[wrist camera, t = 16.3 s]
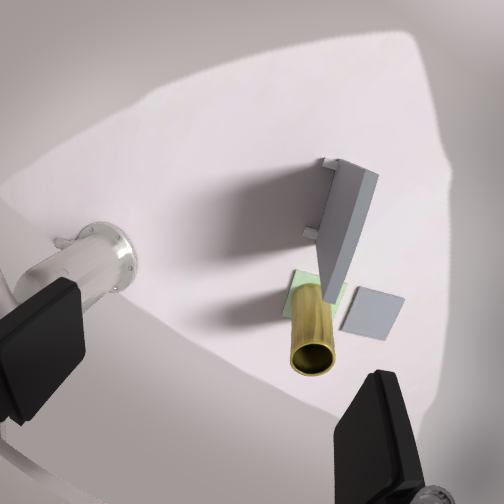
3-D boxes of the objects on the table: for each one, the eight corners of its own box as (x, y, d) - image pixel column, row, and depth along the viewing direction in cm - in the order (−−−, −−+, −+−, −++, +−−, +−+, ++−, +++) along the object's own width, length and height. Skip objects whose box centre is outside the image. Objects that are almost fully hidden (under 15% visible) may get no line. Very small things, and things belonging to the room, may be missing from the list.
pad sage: (281, 314, 49) (281, 316, 49) (296, 269, 46) (296, 270, 46) (329, 326, 49) (329, 328, 48) (347, 283, 46) (347, 284, 46)
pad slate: (341, 329, 49) (341, 330, 48) (359, 286, 46) (359, 287, 45) (384, 338, 48) (385, 340, 48) (404, 298, 45) (404, 299, 45)
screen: (302, 237, 45) (302, 296, 28) (325, 154, 40) (343, 163, 24) (335, 246, 44) (354, 309, 28) (360, 165, 40) (399, 182, 23)
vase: (283, 303, 48) (275, 363, 35) (308, 274, 46) (309, 329, 33) (313, 324, 49) (315, 386, 35) (339, 297, 46) (350, 356, 33)
